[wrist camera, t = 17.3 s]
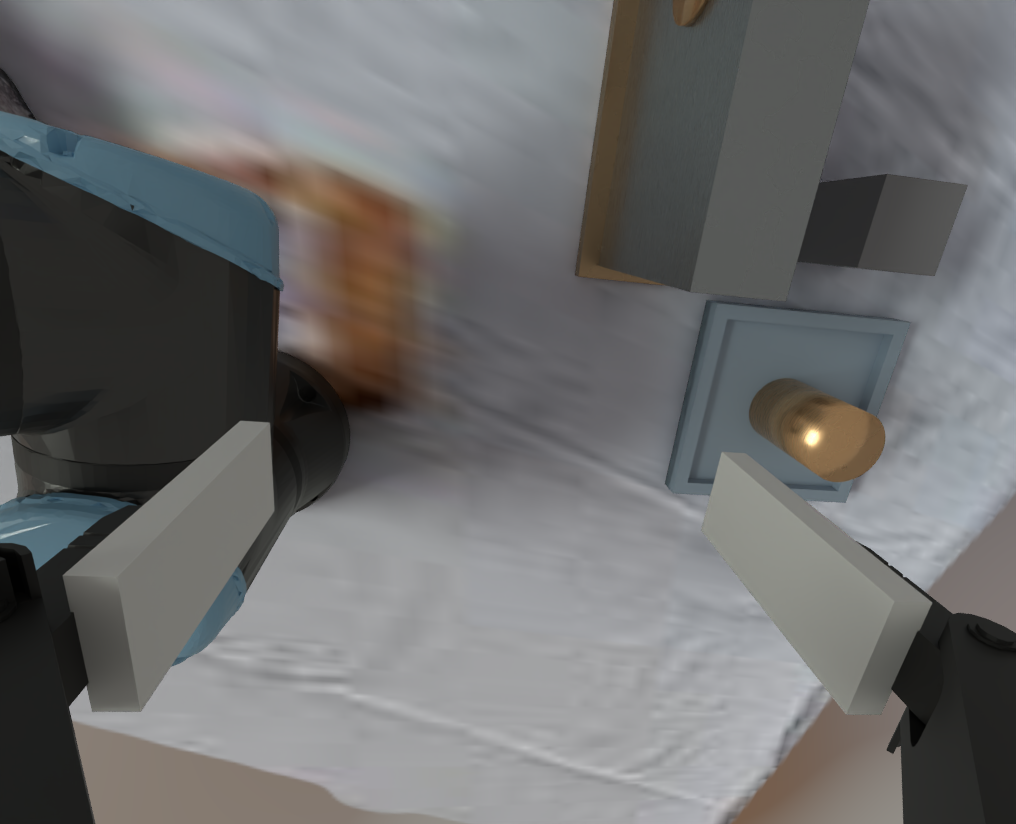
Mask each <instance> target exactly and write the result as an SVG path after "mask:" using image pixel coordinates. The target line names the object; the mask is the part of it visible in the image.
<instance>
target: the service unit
mask: <svg viewBox="0 0 1016 824" xmlns="http://www.w3.org/2000/svg"><path fill="white" fill-rule="evenodd" d="M869 1H870V0H614V3H613V10H612V17H611V24H610V31H609V38H608V45H607V52H606V59H605V66H604V73H603V80H602V87H601V94H600V101H599V108H598V115H597V122H596V130H595V137H594V144H593V151H592V158H591V165H590V172H589V179H588V186H587V193H586V200H585V207H584V214H583V221H582V228H581V235H580V242H579V249H578V256H577V263H576V270H575V275H576V276H578V277H588V278H598V279H607V280H617V281H627V282H637V283H647V284H657V285H667V286H671V287H675V288H678V289H682V290H685V291H689V292H696V293H706V294H716V295H726V296H736V297H746V298H756V299H766V300H776V301H786V300H787V296H788V292H789V289H790V285H791V282H792V278H793V274H794V271H795V267H796V264H797V260H798V256H799V253H800V249H801V246H802V242H803V238H804V235H805V231H806V228H807V224H808V220H809V217H810V213H811V210H812V206H813V203H814V199H815V195H816V192H817V188H818V185H819V181H820V177H821V174H822V170H823V167H824V163H825V159H826V156H827V152H828V149H829V145H830V141H831V138H832V134H833V131H834V127H835V123H836V120H837V116H838V113H839V109H840V105H841V102H842V98H843V95H844V91H845V87H846V84H847V80H848V77H849V73H850V70H851V66H852V62H853V59H854V55H855V52H856V48H857V44H858V41H859V37H860V34H861V30H862V26H863V23H864V19H865V16H866V12H867V8H868V5H869Z"/></svg>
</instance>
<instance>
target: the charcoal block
mask: <svg viewBox="0 0 1016 824" xmlns="http://www.w3.org/2000/svg"><path fill="white" fill-rule="evenodd" d="M967 186H968V185H963V184H956V183H948V182H941V181H934V180H926V179H919V178H912V177H904V176H897V175H889V174H885V175H877V176H869V177H861V178H853V179H845V180H837V181H829V182H822V183H819V185H818V188H817V192H816V195H815V199H814V203H813V206H812V210H811V213H810V217H809V220H808V224H807V228H806V231H805V235H804V238H803V242H802V246H801V249H800V253H799V256H798V260H797V262H806V263H814V264H823V265H832V266H841V267H850V268H860V269H870V270H880V271H889V272H899V273H909V274H919V275H928V276H935V273H936V270H937V268H938V265H939V262H940V260H941V257H942V254H943V251H944V249H945V246H946V243H947V240H948V238H949V235H950V232H951V230H952V227H953V224H954V221H955V219H956V216H957V213H958V210H959V208H960V205H961V202H962V200H963V197H964V194H965V191H966V189H967Z"/></svg>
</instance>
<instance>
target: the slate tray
mask: <svg viewBox="0 0 1016 824" xmlns="http://www.w3.org/2000/svg"><path fill="white" fill-rule="evenodd" d="M910 323H911V322H906V321H901V320H897V319H891V318H881V317H871V316H860V315H850V314H840V313H830V312H820V311H810V310H800V309H790V308H780V307H770V306H760V305H749V304H739V303H729V302H719V301H709V300H707V302H706V306H705V310H704V315H703V319H702V323H701V328H700V332H699V337H698V341H697V345H696V350H695V354H694V359H693V363H692V367H691V372H690V376H689V381H688V385H687V389H686V394H685V398H684V402H683V407H682V411H681V416H680V420H679V424H678V429H677V433H676V438H675V442H674V446H673V451H672V455H671V460H670V464H669V468H668V473H667V477H666V481H665V484H666V485H667V487H668V488H669V489H670V490H671V492H672V493H676V494H695V495H711V491H712V487H713V484H714V480H715V476H716V472H717V468H718V465H719V461H720V457H721V453H722V452H734V453H746V454H747V455H748V456H750V457H751V458H752V459H753V460H755V461H756V462H757V463H758V464H760V465H761V466H762V467H763V468H765V469H766V470H767V471H768V472H770V473H771V474H772V475H773V476H775V477H776V478H777V479H778V480H780V481H781V482H782V483H783V484H785V485H786V486H787V487H788V488H790V489H791V490H792V491H793V492H795V493H796V494H797V495H798V496H800V497H801V498H802V499H803V500H806V501H824V502H842V503H846V500H847V497H848V495H849V492H850V489H851V486H852V483H853V481H854V479H852V480H849V481H845V482H830V481H827V480H824V479H822V478H821V477H819V476H818V475H816V474H815V473H814V472H812V471H811V470H809V469H808V468H806V467H805V466H804V465H802V464H801V463H799V462H798V461H796V460H795V459H794V458H792V457H791V456H789V455H788V454H786V453H785V452H784V451H782V450H781V449H779V448H778V447H776V446H775V445H774V444H772V443H771V442H769V441H768V440H766V439H765V438H764V437H762V436H761V435H759V434H758V433H757V432H756V431H755V430H754V429H753V428H752V426H751V423H750V420H749V409H750V405H751V402H752V400H753V398H754V397H755V395H756V394H757V393H758V391H759V390H760V389H761V388H762V387H764V386H765V385H766V384H768V383H770V382H772V381H774V380H777V379H781V378H792V379H796V380H798V381H800V382H803V383H805V384H807V385H809V386H811V387H814V388H816V389H818V390H820V391H822V392H824V393H827V394H829V395H831V396H833V397H835V398H838V399H840V400H842V401H844V402H846V403H848V404H851V405H853V406H855V407H857V408H859V409H862V410H864V411H866V412H868V413H870V414H872V415H874V416H875V417H877V414H878V412H879V409H880V406H881V403H882V401H883V398H884V395H885V392H886V390H887V387H888V384H889V381H890V379H891V376H892V373H893V370H894V368H895V365H896V362H897V359H898V356H899V354H900V351H901V348H902V345H903V343H904V340H905V337H906V334H907V332H908V329H909V326H910Z"/></svg>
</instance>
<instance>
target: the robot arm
mask: <svg viewBox="0 0 1016 824" xmlns="http://www.w3.org/2000/svg"><path fill="white" fill-rule="evenodd" d="M283 287H284V284H283V281H282V280H281V279H280V277H279V228H278V223H277V220H276V217H275V215H274V213H273V211H272V210H271V208H270V207H269V206H268V205H267V203H266V202H265V201H264V200H263V199H262V198H260V197H259V196H258V195H256V194H255V193H253V192H251V191H250V190H248V189H245V188H243V187H241V186H238V185H236V184H233V183H231V182H228V181H226V180H223V179H220V178H217V177H215V176H212V175H209V174H206V173H204V172H201V171H198V170H195V169H192V168H189V167H186V166H183V165H180V164H177V163H174V162H171V161H168V160H165V159H162V158H159V157H156V156H153V155H150V154H146V153H143V152H140V151H137V150H134V149H131V148H127V147H124V146H121V145H118V144H115V143H111V142H108V141H104V140H101V139H97V138H94V137H91V136H86V135H78V134H76V133H74V132H72V131H69V130H65V129H61V128H58V127H54V126H50V125H47V124H44V123H42V122H39V121H37V120H33V119H30V118H26V117H22V116H18V115H15V114H11V113H7V112H3V111H0V436H6V435H11V438H12V446H13V453H14V460H15V469H16V475H17V483H18V493H17V497H16V498H15V499H12V500H10V501H8V502H6V503H5V504H3V505H0V824H95V820H94V816H93V812H92V807H91V802H90V799H89V794H88V789H87V785H86V781H85V777H84V772H83V768H82V764H81V759H80V755H79V750H78V745H77V741H76V737H75V732H74V728H73V724H72V719H71V715H70V711H69V706H70V705H71V703H72V702H73V701H74V700H75V699H76V697H77V696H78V695H79V694H80V693H81V691H82V690H83V689H84V688H85V686H86V685H87V690H88V694H89V699H90V704H91V708H92V712H141V711H142V709H143V708H144V706H145V705H146V703H147V702H148V700H149V699H150V697H151V696H152V694H153V693H154V691H155V690H156V688H157V687H158V685H159V684H160V682H161V681H162V679H163V678H164V676H165V675H166V673H167V672H168V670H169V669H170V667H172V666H174V665H177V664H179V663H181V662H183V661H185V660H186V659H187V658H188V657H191V656H193V655H194V654H197V653H199V652H201V651H202V650H203V649H204V648H206V647H207V646H208V645H209V644H210V643H211V642H212V641H213V640H214V639H215V637H216V636H217V635H218V633H219V632H220V631H221V629H222V628H223V627H224V626H225V624H226V623H227V622H228V621H229V619H230V618H231V617H232V616H233V615H234V614H235V612H237V611H238V609H239V608H240V607H241V605H242V603H243V602H244V597H245V594H246V592H247V590H248V589H249V587H250V585H251V584H252V582H253V580H254V578H255V577H256V575H257V573H258V571H259V570H260V568H261V566H262V565H263V563H264V561H265V559H266V558H267V556H268V554H269V552H270V551H271V549H272V547H273V546H274V544H275V542H276V540H277V539H278V537H279V535H280V534H281V532H282V530H283V528H284V527H285V525H286V523H287V521H288V520H289V518H290V517H291V516H292V515H294V514H295V513H296V512H298V511H301V510H303V509H305V508H306V507H308V506H310V505H311V504H313V503H314V502H316V501H317V500H318V499H320V498H321V497H322V496H323V495H324V494H325V493H326V492H327V491H328V490H329V489H330V487H331V486H332V485H333V483H334V482H335V480H336V479H337V477H338V475H339V473H340V471H341V469H342V467H343V465H344V463H345V461H346V458H347V455H348V450H349V444H350V429H349V422H348V418H347V415H346V412H345V409H344V407H343V404H342V402H341V400H340V399H339V397H338V395H337V394H336V392H335V391H334V389H333V388H332V387H331V385H330V384H329V383H328V382H327V381H326V380H325V379H324V378H323V377H322V376H321V375H320V374H319V373H318V372H317V371H315V370H314V369H313V368H311V367H310V366H308V365H307V364H305V363H304V362H302V361H300V360H298V359H296V358H294V357H292V356H290V355H287V354H284V353H281V352H278V351H277V350H278V324H279V299H280V291H283ZM701 531H702V532H703V533H704V534H705V536H706V537H707V538H708V540H709V541H710V542H711V543H712V545H713V546H714V547H715V548H716V550H717V551H718V552H719V554H720V555H721V556H722V557H723V559H724V560H725V561H726V562H727V564H728V565H729V566H730V567H731V569H732V570H733V571H734V573H735V574H736V575H737V576H738V578H739V579H740V580H741V581H742V583H743V584H744V585H745V587H746V588H747V589H748V590H749V592H750V593H751V594H752V595H753V597H754V598H755V599H756V601H757V602H758V603H759V604H760V606H761V607H762V608H763V609H764V611H765V612H766V613H767V615H768V616H769V617H770V618H771V620H772V621H773V622H774V623H775V625H776V626H777V627H778V629H779V630H780V631H781V632H782V634H783V635H784V636H785V637H786V639H787V640H788V641H789V643H790V644H791V645H792V646H793V648H794V649H795V650H796V651H797V653H798V654H799V655H800V657H801V658H802V659H803V660H804V662H805V663H806V664H807V665H808V667H809V668H810V669H811V670H812V672H813V673H814V674H815V676H816V677H817V678H818V679H819V681H820V682H821V683H822V684H823V686H824V687H825V688H826V690H827V691H828V692H829V693H830V695H831V696H832V697H833V698H834V700H835V701H836V702H837V703H838V705H839V706H840V707H841V709H842V710H843V711H844V712H845V714H846V715H847V714H848V715H854V714H855V715H860V714H861V715H865V714H866V715H868V714H869V715H881V714H882V711H883V709H884V707H885V705H886V703H887V701H888V698H889V696H890V694H891V692H892V690H893V691H894V693H895V694H896V695H897V696H898V697H899V698H900V699H901V700H902V701H903V702H904V703H905V704H906V705H907V707H906V709H905V711H904V713H903V715H902V717H901V720H900V722H899V724H898V726H897V728H896V730H895V732H894V734H893V736H892V738H891V741H890V743H889V745H888V748H887V751H889V752H891V753H894V751H895V749H896V747H899V746H901V764H902V794H903V823H904V824H1016V633H1014V632H1013V631H1011V630H1009V629H1008V628H1006V627H1004V626H1002V625H1000V624H997V623H995V622H993V621H991V620H988V619H986V618H982V617H979V616H975V615H972V614H964V613H956V614H952V613H951V612H949V611H948V610H947V609H946V608H945V607H943V606H942V605H941V604H940V603H938V602H937V601H936V600H934V599H933V598H932V597H931V596H929V595H928V594H927V593H926V592H924V591H923V590H922V589H921V588H919V587H918V586H917V585H915V584H914V583H913V582H912V581H910V580H909V579H908V578H907V577H903V574H902V573H900V572H899V571H898V570H896V569H895V568H894V567H893V566H889V565H888V562H886V561H885V560H884V559H883V558H881V557H880V556H879V555H877V554H876V553H875V552H874V551H872V550H871V549H870V548H868V547H866V546H864V545H862V544H860V543H858V542H857V541H855V540H853V539H852V538H851V537H850V536H848V535H847V534H846V533H845V532H843V531H842V530H841V529H840V528H838V527H837V526H836V525H835V524H833V523H832V522H831V521H830V520H828V519H827V518H826V517H825V516H823V515H822V514H821V513H820V512H818V511H817V510H816V509H815V508H813V507H812V506H811V505H810V504H808V503H807V502H806V501H805V500H803V499H802V498H801V497H800V496H798V495H797V494H796V493H795V492H793V491H792V490H791V489H790V488H788V487H787V486H786V485H785V484H783V483H782V482H781V481H780V480H778V479H777V478H776V477H775V476H773V475H772V474H771V473H770V472H768V471H767V470H766V469H765V468H763V467H762V466H761V465H760V464H758V463H757V462H756V461H755V460H753V459H752V458H751V457H750V456H748V455H747V454H746V453H734V452H722V453H721V457H720V461H719V465H718V468H717V472H716V476H715V480H714V484H713V487H712V491H711V495H710V499H709V503H708V506H707V510H706V514H705V518H704V522H703V525H702V529H701Z"/></svg>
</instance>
